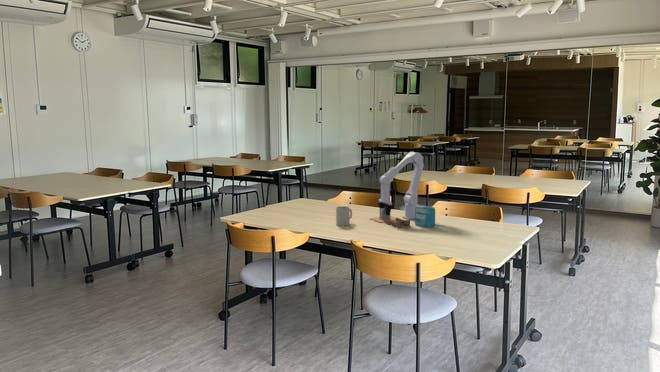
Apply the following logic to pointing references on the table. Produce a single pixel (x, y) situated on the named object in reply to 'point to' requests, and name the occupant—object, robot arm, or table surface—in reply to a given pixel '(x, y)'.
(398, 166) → the robot arm
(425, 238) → the table surface
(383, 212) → the blank block
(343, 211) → the mug
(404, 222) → the frame
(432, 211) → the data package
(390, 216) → the mat
